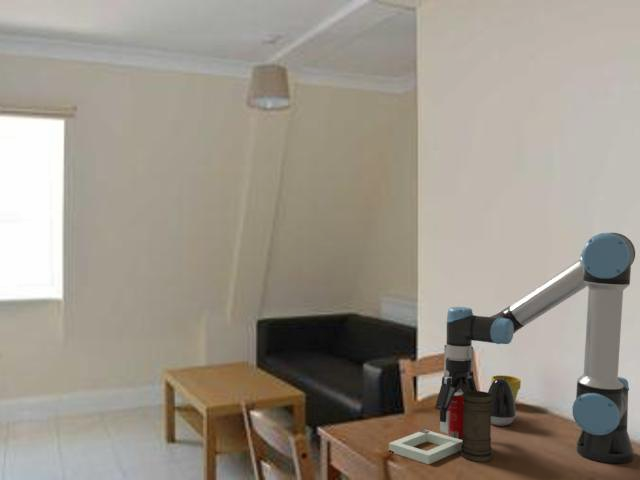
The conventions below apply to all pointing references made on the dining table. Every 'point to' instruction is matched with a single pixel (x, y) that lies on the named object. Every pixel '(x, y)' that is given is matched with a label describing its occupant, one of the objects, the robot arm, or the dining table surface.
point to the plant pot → (510, 383)
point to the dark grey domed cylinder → (502, 403)
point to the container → (477, 426)
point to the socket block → (408, 450)
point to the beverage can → (456, 416)
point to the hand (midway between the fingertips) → (456, 427)
